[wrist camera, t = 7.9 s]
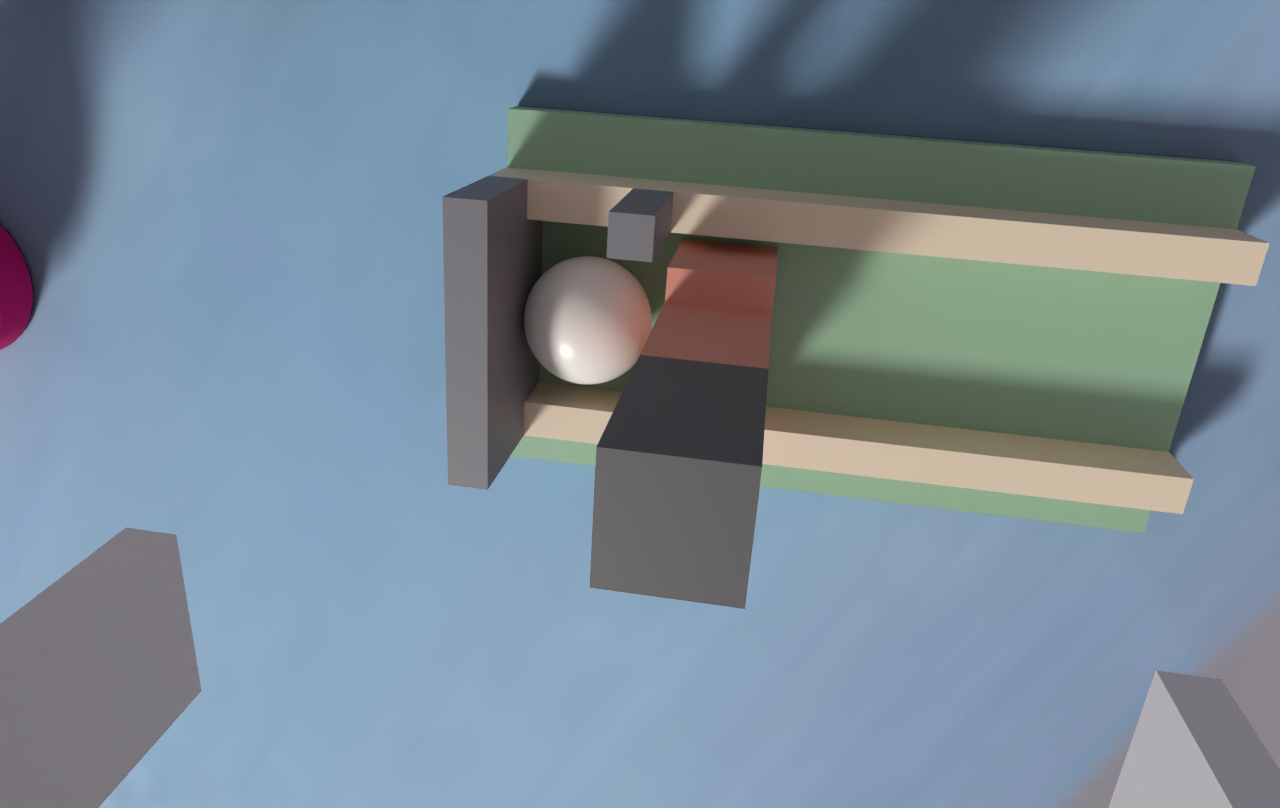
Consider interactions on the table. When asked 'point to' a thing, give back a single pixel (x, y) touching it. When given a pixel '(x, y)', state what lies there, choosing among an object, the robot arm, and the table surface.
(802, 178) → the pitch
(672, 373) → the black and red block
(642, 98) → the table surface
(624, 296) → the ball
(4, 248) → the pepper mill
